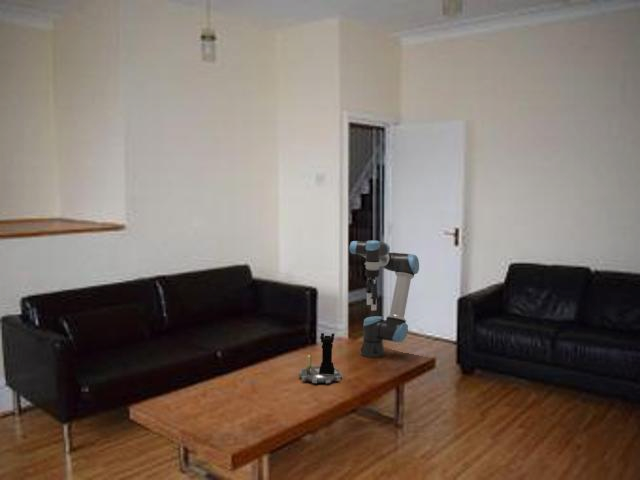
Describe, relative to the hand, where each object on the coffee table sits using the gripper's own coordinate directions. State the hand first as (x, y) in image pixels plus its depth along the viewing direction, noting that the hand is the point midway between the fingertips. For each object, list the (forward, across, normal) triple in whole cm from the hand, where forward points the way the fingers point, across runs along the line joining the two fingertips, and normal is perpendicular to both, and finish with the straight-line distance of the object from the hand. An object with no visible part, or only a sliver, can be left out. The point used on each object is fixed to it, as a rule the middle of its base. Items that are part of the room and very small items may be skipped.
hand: (371, 307), depth 316 cm
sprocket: (+36, +8, -28) cm, 46 cm away
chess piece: (+33, +7, -25) cm, 42 cm away
